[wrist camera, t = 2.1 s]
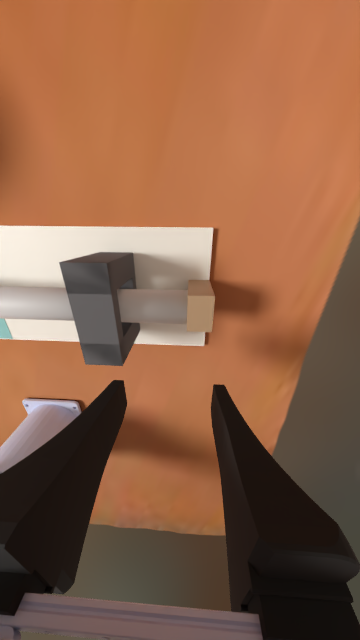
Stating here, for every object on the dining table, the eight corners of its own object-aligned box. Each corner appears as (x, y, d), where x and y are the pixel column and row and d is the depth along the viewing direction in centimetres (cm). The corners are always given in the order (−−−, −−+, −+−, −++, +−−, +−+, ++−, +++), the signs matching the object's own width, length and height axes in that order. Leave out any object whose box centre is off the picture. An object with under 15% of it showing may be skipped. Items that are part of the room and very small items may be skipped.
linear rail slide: (203, 344, 22) (207, 377, 17) (-60, 334, 23) (-127, 362, 18) (212, 227, 16) (222, 227, 12) (-129, 224, 18) (-248, 222, 13)
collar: (140, 330, 20) (122, 365, 15) (112, 329, 20) (85, 364, 15) (133, 252, 17) (106, 263, 12) (100, 252, 17) (59, 262, 12)
